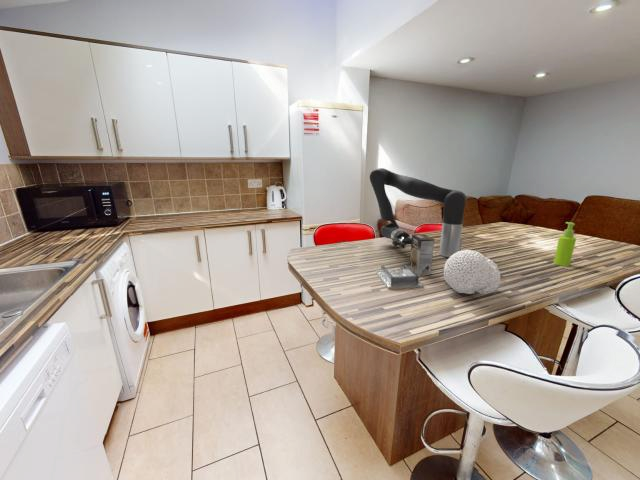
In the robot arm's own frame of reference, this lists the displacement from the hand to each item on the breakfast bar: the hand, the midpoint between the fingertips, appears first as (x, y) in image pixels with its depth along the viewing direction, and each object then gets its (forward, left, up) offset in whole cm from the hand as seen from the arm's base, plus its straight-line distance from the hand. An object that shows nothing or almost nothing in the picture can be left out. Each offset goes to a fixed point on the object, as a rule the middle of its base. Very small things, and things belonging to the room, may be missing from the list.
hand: (412, 245), depth 128 cm
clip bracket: (+13, +17, -9) cm, 23 cm away
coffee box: (0, +9, -9) cm, 13 cm away
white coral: (-10, +29, -9) cm, 32 cm away
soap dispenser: (-71, +7, -9) cm, 72 cm away
